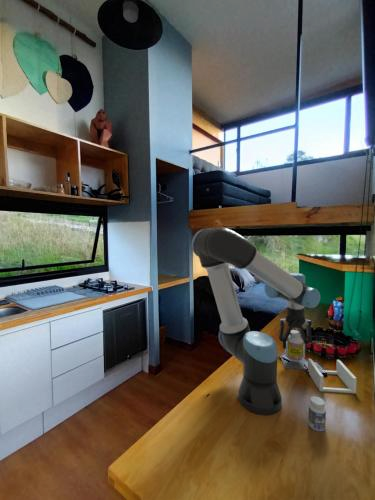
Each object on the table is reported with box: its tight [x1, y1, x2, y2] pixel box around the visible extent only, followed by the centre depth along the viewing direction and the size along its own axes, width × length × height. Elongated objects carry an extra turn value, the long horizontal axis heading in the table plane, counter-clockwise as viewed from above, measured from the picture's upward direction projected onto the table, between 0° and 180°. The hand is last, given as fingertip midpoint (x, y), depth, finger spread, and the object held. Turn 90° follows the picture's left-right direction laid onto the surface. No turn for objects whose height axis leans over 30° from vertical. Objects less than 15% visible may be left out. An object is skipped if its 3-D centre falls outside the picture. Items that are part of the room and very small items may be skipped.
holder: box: [307, 358, 357, 394], centre depth 98 cm, size 13×13×6 cm
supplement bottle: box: [287, 329, 303, 362], centre depth 112 cm, size 7×7×13 cm
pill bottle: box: [307, 396, 327, 432], centre depth 76 cm, size 5×5×8 cm
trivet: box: [278, 354, 308, 371], centre depth 112 cm, size 11×11×1 cm
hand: (294, 355), depth 112 cm, fingers closed on supplement bottle, 7 cm apart
